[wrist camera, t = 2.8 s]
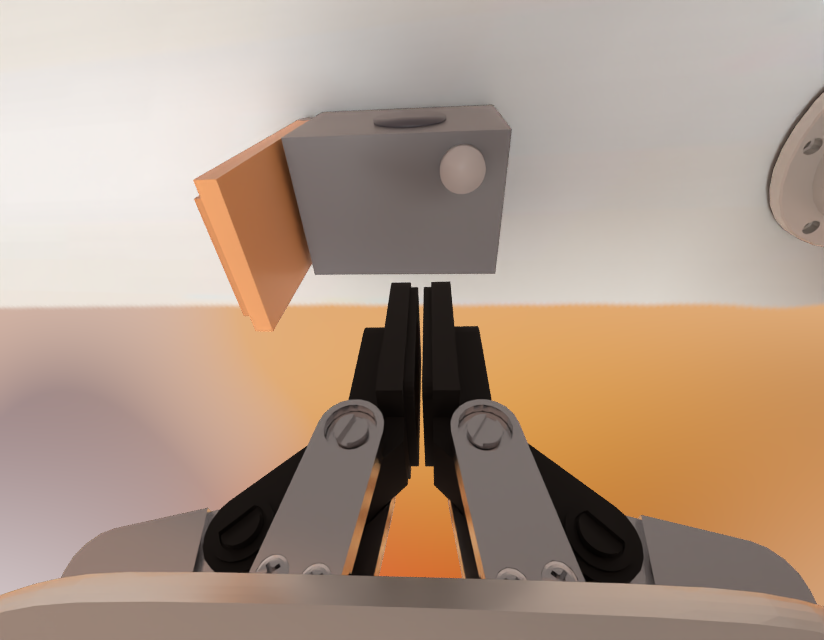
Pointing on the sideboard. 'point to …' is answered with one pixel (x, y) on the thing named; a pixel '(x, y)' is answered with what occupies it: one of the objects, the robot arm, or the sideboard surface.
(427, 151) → the camera housing
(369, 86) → the sideboard surface
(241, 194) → the side door
